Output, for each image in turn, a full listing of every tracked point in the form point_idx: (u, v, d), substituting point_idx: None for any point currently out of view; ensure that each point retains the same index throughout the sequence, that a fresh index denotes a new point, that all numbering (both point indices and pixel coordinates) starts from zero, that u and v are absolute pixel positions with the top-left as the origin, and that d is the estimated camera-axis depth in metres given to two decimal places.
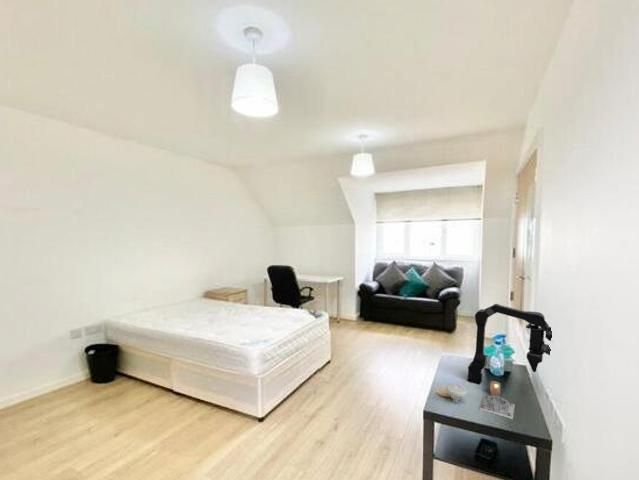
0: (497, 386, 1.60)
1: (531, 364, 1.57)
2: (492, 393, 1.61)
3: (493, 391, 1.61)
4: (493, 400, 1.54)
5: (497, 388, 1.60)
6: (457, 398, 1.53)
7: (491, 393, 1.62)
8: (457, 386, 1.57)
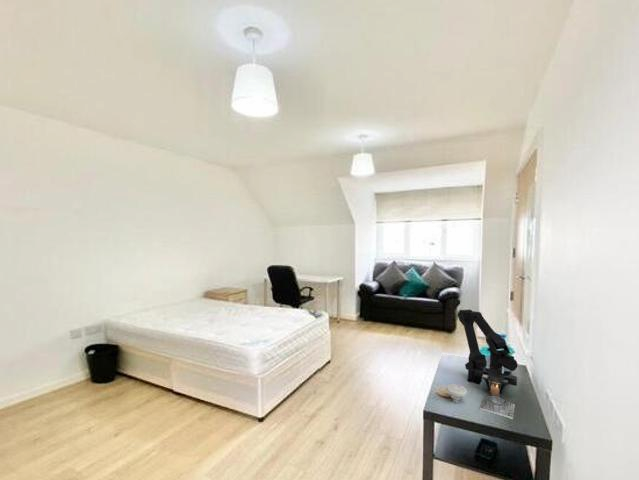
0: (497, 386, 1.60)
1: None
2: (492, 393, 1.61)
3: (493, 391, 1.61)
4: (493, 400, 1.54)
5: (497, 388, 1.60)
6: (457, 398, 1.53)
7: (491, 393, 1.62)
8: (457, 386, 1.57)
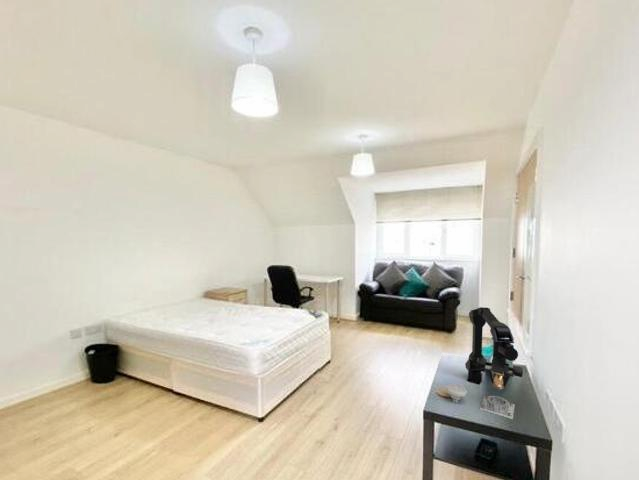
0: (501, 378, 1.48)
1: None
2: (495, 385, 1.49)
3: (497, 383, 1.49)
4: (493, 400, 1.54)
5: (501, 380, 1.48)
6: (457, 398, 1.53)
7: (494, 385, 1.50)
8: (457, 386, 1.57)
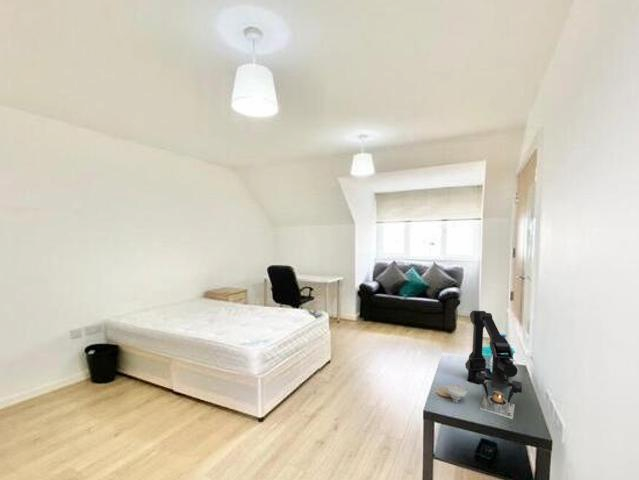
0: (500, 397, 1.48)
1: None
2: None
3: (496, 402, 1.49)
4: None
5: (500, 400, 1.48)
6: (457, 398, 1.53)
7: None
8: (457, 386, 1.57)
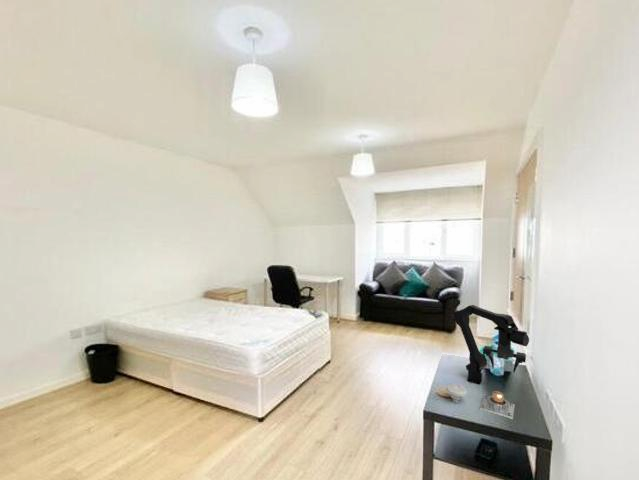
0: (500, 397, 1.48)
1: None
2: None
3: (496, 402, 1.49)
4: None
5: (500, 400, 1.48)
6: (457, 398, 1.53)
7: None
8: (457, 386, 1.57)
